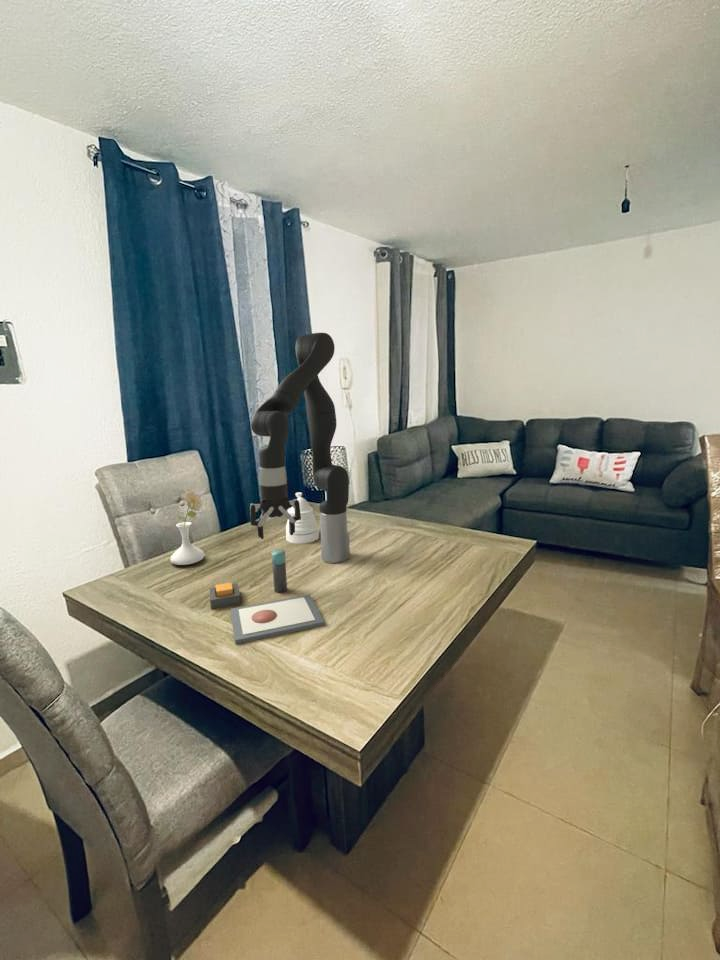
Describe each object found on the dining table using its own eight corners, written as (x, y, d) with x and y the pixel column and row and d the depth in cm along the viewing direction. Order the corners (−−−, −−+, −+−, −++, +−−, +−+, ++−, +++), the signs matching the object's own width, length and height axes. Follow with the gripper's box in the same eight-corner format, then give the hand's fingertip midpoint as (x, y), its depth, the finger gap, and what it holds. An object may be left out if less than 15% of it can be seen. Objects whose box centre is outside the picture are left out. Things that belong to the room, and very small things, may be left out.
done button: (232, 588, 130) (231, 582, 129) (233, 595, 125) (232, 588, 125) (216, 591, 128) (215, 585, 128) (216, 598, 124) (216, 591, 124)
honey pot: (282, 535, 179) (279, 492, 175) (312, 530, 185) (310, 488, 181) (291, 545, 168) (288, 500, 164) (323, 540, 173) (321, 495, 169)
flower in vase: (184, 570, 148) (176, 498, 142) (163, 564, 154) (154, 494, 148) (215, 557, 159) (208, 489, 153) (195, 551, 165) (187, 486, 159)
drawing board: (309, 597, 127) (309, 592, 127) (324, 625, 113) (324, 620, 112) (230, 612, 120) (230, 607, 120) (235, 644, 105) (234, 638, 105)
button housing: (238, 591, 132) (237, 583, 132) (240, 603, 125) (240, 595, 124) (210, 596, 130) (209, 588, 129) (211, 608, 122) (210, 600, 122)
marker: (286, 585, 135) (283, 549, 132) (288, 591, 131) (286, 553, 129) (273, 588, 134) (270, 551, 131) (275, 594, 130) (272, 555, 127)
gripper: (295, 477, 131) (298, 529, 134) (246, 481, 126) (250, 535, 130) (300, 482, 124) (303, 537, 128) (249, 487, 119) (253, 543, 123)
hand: (276, 536), depth 129 cm, fingers open, 8 cm apart
